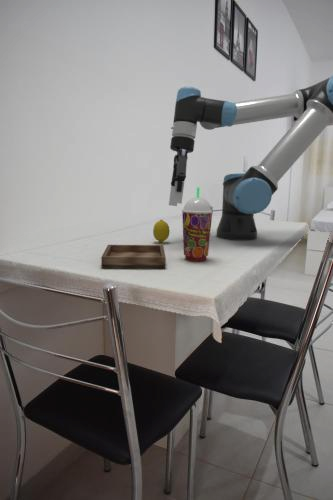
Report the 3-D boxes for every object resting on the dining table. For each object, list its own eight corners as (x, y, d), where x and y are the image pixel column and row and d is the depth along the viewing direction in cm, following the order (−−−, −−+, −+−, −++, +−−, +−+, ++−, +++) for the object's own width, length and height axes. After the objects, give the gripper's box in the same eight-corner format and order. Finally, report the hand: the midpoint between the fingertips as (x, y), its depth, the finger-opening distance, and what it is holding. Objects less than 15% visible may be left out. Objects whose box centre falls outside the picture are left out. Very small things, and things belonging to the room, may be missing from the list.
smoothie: (184, 263, 105) (186, 187, 101) (178, 256, 113) (180, 186, 109) (214, 262, 106) (217, 188, 102) (206, 255, 114) (209, 186, 110)
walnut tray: (163, 255, 114) (163, 245, 113) (165, 269, 98) (165, 257, 98) (108, 254, 113) (108, 244, 112) (101, 268, 97) (101, 257, 97)
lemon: (169, 241, 135) (170, 218, 133) (168, 244, 129) (168, 220, 128) (154, 241, 135) (154, 218, 134) (152, 244, 130) (152, 220, 128)
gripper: (168, 144, 137) (160, 205, 138) (175, 126, 112) (166, 200, 113) (189, 148, 137) (181, 207, 138) (201, 130, 112) (191, 203, 113)
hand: (174, 204), depth 125 cm, fingers open, 13 cm apart
